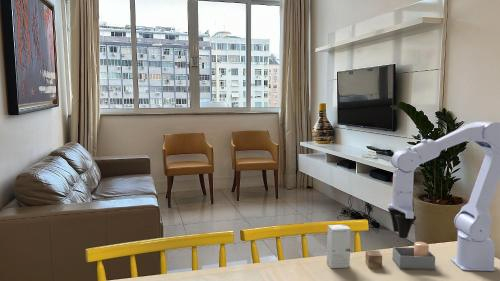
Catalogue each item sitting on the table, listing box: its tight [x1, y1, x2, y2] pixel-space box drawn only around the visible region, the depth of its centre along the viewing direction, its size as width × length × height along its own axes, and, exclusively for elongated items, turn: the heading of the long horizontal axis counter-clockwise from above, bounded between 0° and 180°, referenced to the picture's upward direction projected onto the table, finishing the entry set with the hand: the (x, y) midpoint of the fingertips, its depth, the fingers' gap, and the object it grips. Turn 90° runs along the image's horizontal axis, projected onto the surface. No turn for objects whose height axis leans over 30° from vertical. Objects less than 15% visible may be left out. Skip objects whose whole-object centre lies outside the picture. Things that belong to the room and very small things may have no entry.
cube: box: [364, 249, 383, 269], centre depth 116 cm, size 4×4×4 cm
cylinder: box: [413, 241, 430, 256], centre depth 116 cm, size 4×4×6 cm
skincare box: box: [326, 224, 352, 269], centre depth 115 cm, size 6×4×12 cm
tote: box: [391, 246, 436, 271], centre depth 116 cm, size 10×7×4 cm
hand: (400, 234), depth 115 cm, fingers open, 5 cm apart
